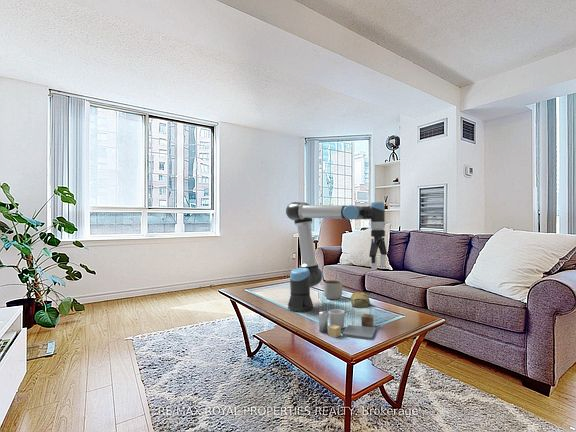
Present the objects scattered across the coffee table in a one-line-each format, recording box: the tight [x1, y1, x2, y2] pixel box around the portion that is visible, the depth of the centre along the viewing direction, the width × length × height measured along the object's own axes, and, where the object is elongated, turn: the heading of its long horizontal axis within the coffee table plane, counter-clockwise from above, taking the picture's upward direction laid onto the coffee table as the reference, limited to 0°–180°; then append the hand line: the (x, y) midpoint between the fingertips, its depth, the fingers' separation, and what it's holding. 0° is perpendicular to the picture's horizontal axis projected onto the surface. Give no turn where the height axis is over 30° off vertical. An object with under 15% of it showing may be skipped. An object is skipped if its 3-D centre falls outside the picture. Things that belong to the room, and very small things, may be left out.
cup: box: [327, 308, 346, 330], centre depth 147 cm, size 11×8×8 cm
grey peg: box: [318, 310, 329, 334], centre depth 141 cm, size 4×4×9 cm
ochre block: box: [327, 325, 342, 339], centre depth 136 cm, size 4×4×4 cm
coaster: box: [341, 324, 377, 341], centre depth 138 cm, size 13×13×1 cm
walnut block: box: [360, 313, 375, 327], centre depth 148 cm, size 5×5×5 cm
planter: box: [323, 279, 343, 300], centre depth 203 cm, size 12×12×11 cm
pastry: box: [350, 291, 371, 308], centre depth 185 cm, size 14×12×8 cm
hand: (378, 267), depth 169 cm, fingers open, 13 cm apart
